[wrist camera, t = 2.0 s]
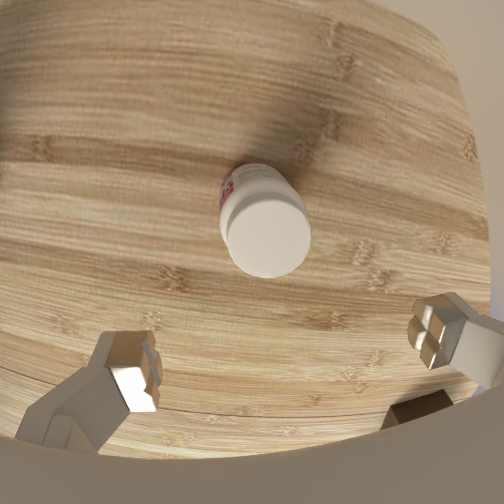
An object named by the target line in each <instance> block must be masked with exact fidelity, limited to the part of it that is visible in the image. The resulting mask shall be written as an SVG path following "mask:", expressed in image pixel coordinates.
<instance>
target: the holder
mask: <svg viewBox="0 0 504 504" xmlns="http://www.w3.org/2000/svg"><path fill="white" fill-rule="evenodd" d="M452 405H454V404H453V402H452V401H451V399H450V398H449V396H448V395H447V393H446V392H445V390H442V391H439V392H436V393H433V394H430V395H427V396H424V397H420V398H417V399H414V400H411V401H407V402H404V403H400V404H397V405H393V406H390V408H389V411H388V413H387V416H386V418H385V420H384V423H383V425H382V427H381V429H380V430H384V429H387V428H391V427H394V426H397V425H400V424H403V423H406V422H409V421H412V420H415V419H418V418H421V417H424V416H426V415H429V414H432V413H435V412H437V411H440V410H442V409H445V408H447V407H450V406H452Z"/></svg>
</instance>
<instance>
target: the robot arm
mask: <svg viewBox="0 0 504 504" xmlns="http://www.w3.org/2000/svg"><path fill="white" fill-rule="evenodd" d="M412 312H413V314H414V317H413V318H412V319H411V320H410V322H409V325H408V330H407V331H408V339H409V342H410V344H411V345H412V347H413V348H414V349H416V350H418V351H420V352H421V353H420V358H421V359H422V361H423V362H424V364H425V365H426V366H427V368H428V369H429V370H431V369H435V368H438V367H442V366H445V365H448V364H449V366H451V367H452V368H454V369H456V370H457V371H459V372H460V373H462V374H464V375H465V376H467V377H468V378H470V379H472V380H473V381H475V382H477V383H478V384H480V385H481V386H483V387H485V388H486V389H488V390H486V391H484V392H482V393H480V394H477V395H475V396H473V397H471V398H469V399H466V400H464V401H462V402H459V403H457V404H455V405H452V406H450V407H447V408H445V409H442V410H440V411H437V412H435V413H432V414H429V415H426V416H424V417H421V418H418V419H415V420H412V421H409V422H406V423H403V424H400V425H397V426H394V427H391V428H387V429H384V430H380V431H377V432H373V433H370V434H366V435H362V436H358V437H354V438H350V439H346V440H342V441H337V442H333V443H328V444H323V445H318V446H313V447H307V448H301V449H295V450H289V451H282V452H275V453H267V454H259V455H249V456H238V457H225V458H206V459H150V458H131V457H118V456H107V455H99V454H98V452H97V451H98V450H99V449H100V448H101V447H102V446H103V444H104V443H105V442H106V441H107V440H108V439H109V437H110V436H111V435H112V434H113V433H114V432H115V430H116V429H117V428H118V427H119V426H120V425H121V423H122V422H123V421H124V420H125V419H126V417H127V416H128V415H129V414H130V412H155V411H158V404H159V397H160V393H159V391H158V388H157V387H158V386H159V385H160V384H161V383H162V363H161V358H160V355H159V353H158V352H157V351H156V350H155V349H154V348H155V343H156V341H155V338H154V334H153V332H152V331H105V332H103V333H102V334H101V335H100V338H99V340H98V342H97V345H96V347H95V349H94V352H93V354H92V356H91V359H90V361H89V364H88V366H87V367H82V368H81V369H79V370H78V371H77V372H75V373H74V374H73V375H71V376H70V377H69V378H67V379H66V380H64V381H63V382H62V383H60V384H59V385H58V386H56V387H55V388H54V389H52V390H51V391H50V392H48V393H47V394H46V395H44V396H43V397H42V398H40V399H39V400H38V401H36V402H35V403H34V404H32V405H31V406H30V407H28V408H27V410H26V413H25V415H24V417H23V419H22V422H21V424H20V426H19V429H18V431H17V433H16V436H15V438H14V439H12V438H9V437H5V436H1V435H0V504H504V323H503V322H501V321H498V320H496V319H493V318H490V317H487V316H485V315H479V314H478V313H477V312H476V311H475V310H473V309H472V308H471V307H470V306H469V305H468V304H467V303H466V302H465V301H464V300H463V299H462V298H460V297H459V296H458V295H457V294H456V293H454V292H448V293H444V294H440V295H437V296H432V297H427V298H422V299H417V300H416V301H415V303H414V305H413V309H412Z"/></svg>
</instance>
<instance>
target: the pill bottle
mask: <svg viewBox="0 0 504 504" xmlns="http://www.w3.org/2000/svg"><path fill="white" fill-rule="evenodd" d="M219 226H220V231H221V234H222V237H223V240H224V242H225V243H226V245H227V246H228V250H229V253H230V255H231V257H232V259H233V261H234V262H235V263H236V264H237V266H238V267H239V268H241V269H242V270H243V271H245V272H246V273H248V274H250V275H253V276H256V277H260V278H274V277H279V276H282V275H285V274H287V273H289V272H291V271H293V270H294V269H295V268H297V267H298V266H299V265H300V264H301V263H302V262H303V260H304V259H305V257H306V256H307V254H308V252H309V249H310V246H311V241H312V231H311V227H310V223H309V221H308V215H307V210H306V207H305V204H304V202H303V201H302V199H301V197H300V196H299V194H298V193H297V192H296V191H295V190H294V189H293V188H292V186H291V185H290V184H289V183H288V182H287V181H286V179H285V178H284V177H283V176H282V175H281V174H280V173H279V172H278V171H277V170H276V169H274V168H273V167H271V166H269V165H266V164H262V163H247V164H244V165H241V166H239V167H237V168H236V169H234V170H233V171H232V172H231V173H230V174H229V175H228V176H227V177H226V179H225V181H224V182H223V185H222V188H221V193H220V216H219Z"/></svg>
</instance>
